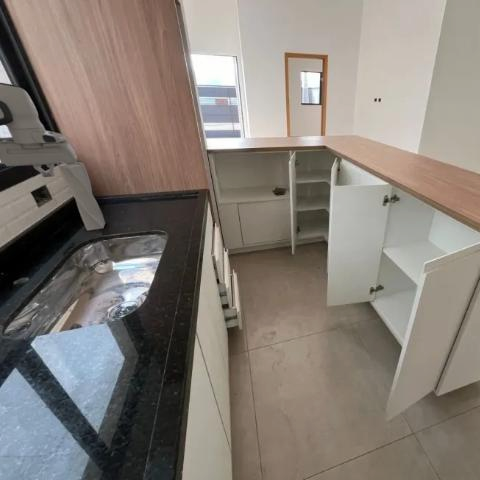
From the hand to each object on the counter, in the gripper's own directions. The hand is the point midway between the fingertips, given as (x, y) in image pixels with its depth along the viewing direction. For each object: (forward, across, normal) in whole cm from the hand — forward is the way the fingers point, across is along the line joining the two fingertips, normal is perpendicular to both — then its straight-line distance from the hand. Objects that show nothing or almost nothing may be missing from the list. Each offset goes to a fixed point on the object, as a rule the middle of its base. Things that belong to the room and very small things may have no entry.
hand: (48, 176), depth 98 cm
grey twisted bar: (+22, +8, 0) cm, 24 cm away
